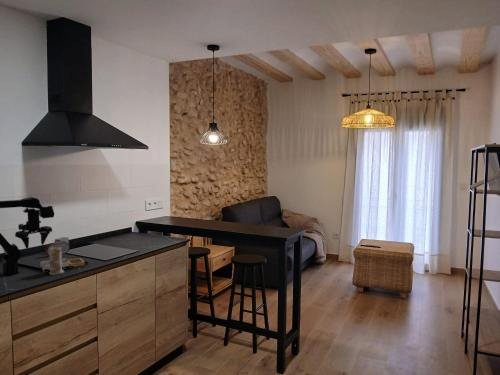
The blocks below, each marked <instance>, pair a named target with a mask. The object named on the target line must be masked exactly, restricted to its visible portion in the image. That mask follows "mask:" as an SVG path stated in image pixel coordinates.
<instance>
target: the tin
mask: <svg viewBox="0 0 500 375" xmlns="http://www.w3.org/2000/svg"><path fill="white" fill-rule="evenodd" d="M53 247H62V255H65V254H67V253H68V252H69V251H70V249H71V248H70V247H71V246H70V244H68V243H67V242H65V241H61V242H55V241H54V242H51V243H48V244H47V245H46V246H45V248H44V253H45V254H46V255H47V256H49V257H50V249H51V248H53Z"/></svg>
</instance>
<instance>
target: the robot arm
mask: <svg viewBox="0 0 500 375" xmlns="http://www.w3.org/2000/svg"><path fill="white" fill-rule="evenodd" d="M7 208H9V209H12V208H24V209H23V211H22V212H23V213H25V214H26V213H27V221H26V222H25V224H24V223H20V224H18V230H19V231H16V232H15V233H14V236H15V238H18V239H20V240H21V241H22V242H23V245H24V246H25V249H29V246H30V244H29V243H30V237H29V235H32V234H37V233H39V234H40V244H41V245H42V246H44V245H45V242H46V240H47V238H48V236H49V234H51V232H53V228H52V227H51V226H48V225H45V226H40V224H41V223H42V221H41V220H40V218H41V219H49V218H54V217H55V211H54V207H53V205H47V206H43V205H42V204H41V202H40V199H38V198H36V197H33V196H30V197H25V198H21V199H10V200H9V199H8V200H0V209H7ZM0 246H1V247H2V250H3V252H4V253H5V255H3V256H2V258H1V260H2V262H3V263H2V273H0V275H3V276H5V277H6V276H7V277H10V276H14V275H17V274H20V271H19V264H18V262H19V260H20V259H21V258H22V252H21V251H22V250H21V249H19V247H18V246H17V244H15V243H12V244H11V243H10V242H9V241H8V240H7V239H6V238H5V236H4V235H3V234H2V233H1V232H0Z"/></svg>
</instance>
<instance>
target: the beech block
mask: <svg viewBox="0 0 500 375" xmlns="http://www.w3.org/2000/svg"><path fill="white" fill-rule="evenodd" d="M62 259H63V254H62V247H53V248H51V249H50V256H49V261H50V273H58V272H61V271H62Z"/></svg>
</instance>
